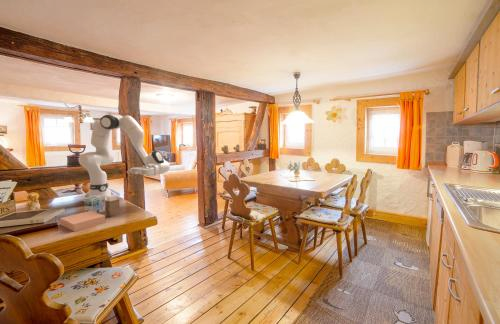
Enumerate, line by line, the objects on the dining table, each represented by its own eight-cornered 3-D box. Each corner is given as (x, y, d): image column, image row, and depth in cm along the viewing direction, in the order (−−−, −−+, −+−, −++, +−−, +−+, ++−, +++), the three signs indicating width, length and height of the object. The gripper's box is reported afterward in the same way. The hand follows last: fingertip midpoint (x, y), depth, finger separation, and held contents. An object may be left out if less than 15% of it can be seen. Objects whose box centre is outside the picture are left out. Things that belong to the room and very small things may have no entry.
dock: (60, 224, 138) (60, 218, 138) (91, 216, 152) (90, 210, 151) (74, 231, 128) (73, 224, 128) (105, 222, 142) (105, 215, 141)
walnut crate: (105, 215, 153) (104, 200, 152) (115, 213, 158) (114, 198, 157) (110, 217, 150) (109, 202, 149) (120, 214, 155) (119, 199, 154)
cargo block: (106, 200, 152) (106, 195, 152) (113, 198, 156) (113, 194, 156) (110, 201, 150) (109, 196, 150) (117, 199, 154) (116, 195, 153)
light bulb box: (93, 215, 154) (92, 199, 153) (84, 214, 156) (83, 198, 155) (106, 210, 165) (105, 194, 164) (98, 209, 166) (96, 194, 165)
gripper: (140, 164, 179) (122, 166, 168) (157, 166, 168) (139, 168, 157) (141, 172, 180) (123, 175, 169) (158, 175, 169) (139, 178, 158)
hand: (131, 172), depth 163 cm, fingers open, 8 cm apart
